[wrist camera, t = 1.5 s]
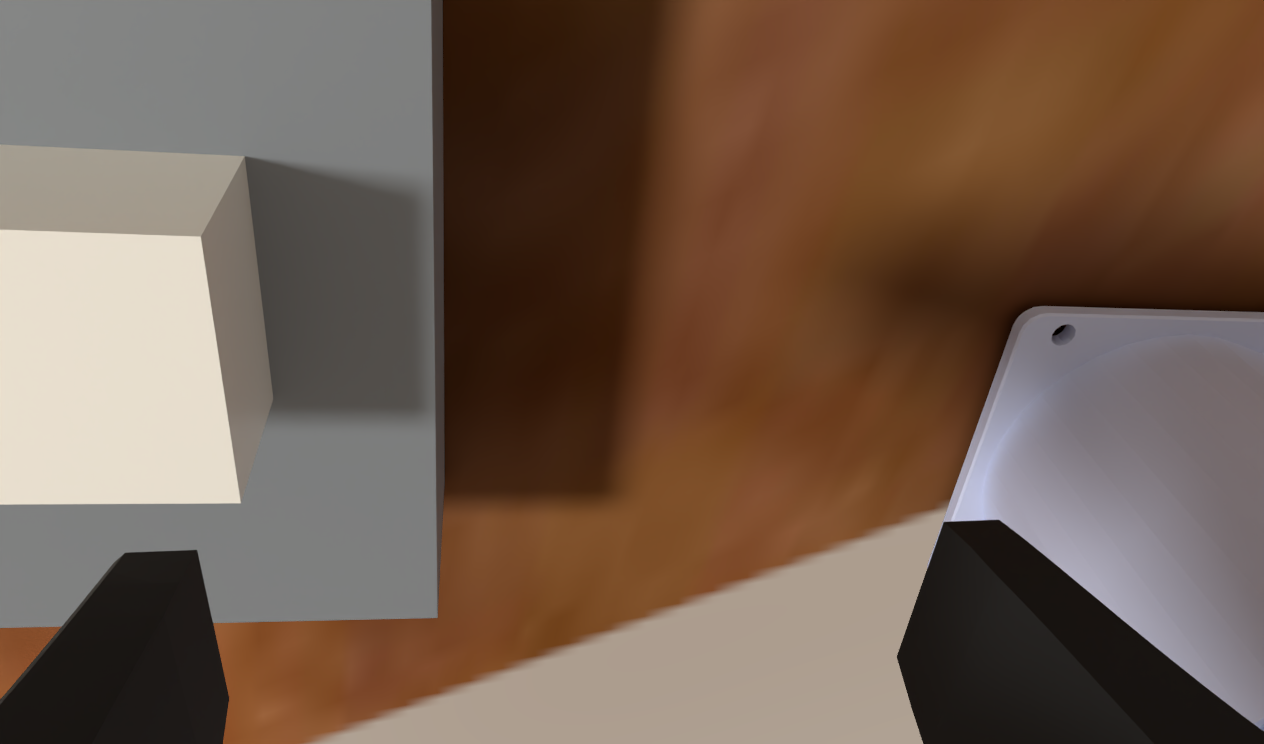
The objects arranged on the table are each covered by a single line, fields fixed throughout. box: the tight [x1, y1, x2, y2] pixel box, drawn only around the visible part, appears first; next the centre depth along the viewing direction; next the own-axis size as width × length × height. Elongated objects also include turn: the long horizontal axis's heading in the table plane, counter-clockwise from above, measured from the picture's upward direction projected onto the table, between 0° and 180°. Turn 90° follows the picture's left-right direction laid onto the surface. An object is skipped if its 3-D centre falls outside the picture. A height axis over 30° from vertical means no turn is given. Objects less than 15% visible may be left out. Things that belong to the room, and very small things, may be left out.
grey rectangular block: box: [0, 0, 445, 628], centre depth 16 cm, size 11×14×4 cm
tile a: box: [0, 145, 273, 505], centre depth 13 cm, size 4×4×2 cm
